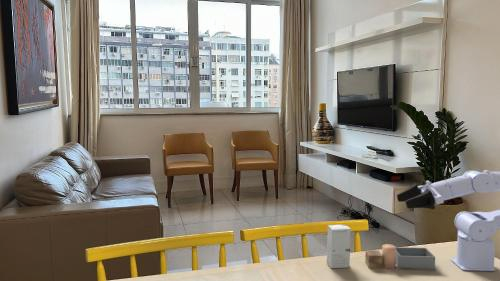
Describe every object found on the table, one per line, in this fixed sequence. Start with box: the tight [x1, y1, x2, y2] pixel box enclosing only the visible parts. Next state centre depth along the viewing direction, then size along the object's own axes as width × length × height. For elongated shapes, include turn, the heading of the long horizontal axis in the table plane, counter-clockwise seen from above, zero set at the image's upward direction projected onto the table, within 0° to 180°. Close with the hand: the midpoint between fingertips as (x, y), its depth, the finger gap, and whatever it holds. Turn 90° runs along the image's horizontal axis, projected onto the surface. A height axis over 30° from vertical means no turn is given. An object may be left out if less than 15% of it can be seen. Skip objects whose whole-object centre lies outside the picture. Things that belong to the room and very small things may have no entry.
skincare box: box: [326, 224, 352, 269], centre depth 115 cm, size 6×4×12 cm
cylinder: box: [381, 243, 397, 269], centre depth 115 cm, size 4×4×6 cm
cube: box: [364, 249, 383, 269], centre depth 116 cm, size 4×4×4 cm
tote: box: [396, 246, 436, 271], centre depth 116 cm, size 10×7×4 cm
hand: (401, 201), depth 115 cm, fingers open, 7 cm apart
